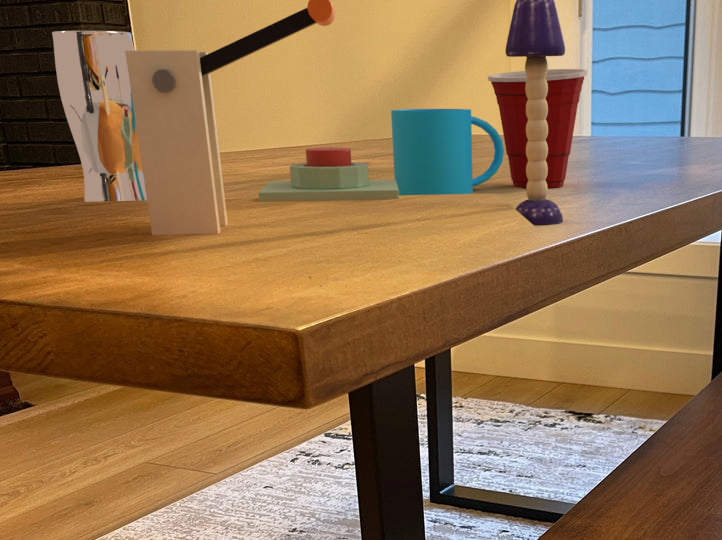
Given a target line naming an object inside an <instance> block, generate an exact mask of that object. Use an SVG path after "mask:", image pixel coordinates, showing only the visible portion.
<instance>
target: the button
mask: <svg viewBox="0 0 722 540" xmlns="http://www.w3.org/2000/svg"><path fill="white" fill-rule="evenodd" d="M305 159H306V160H305V161H306V163H307V166H309V167H338V166H350V165H352V163H351V162H352V151H351V148H350V147H337V146H336V147H332V146H331V147H330V146H329V147H310V148H309V147H308V148H306V149H305Z"/></svg>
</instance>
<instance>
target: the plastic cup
mask: <svg viewBox="0 0 722 540" xmlns="http://www.w3.org/2000/svg"><path fill="white" fill-rule="evenodd" d="M587 75H588V69H581V68H557V69H556V68H555V69H553V68H552V69H548V72H547V75H546V77H545V79H546V81H547V84H548V93H547V96H546V101H547V105H548V114H547V117H546V121H547V124H548V135H547V138H546V142H547V146H548V154H547V158H546V160H545V161H546V163H547V167H548V173H547V177H546V180H545V181H546V183H547V187H548V189H550V188H552V189H553V188H561V187H564V183H565V180H566V176H567V170H568V164H569V157H570V155H571V149H572V143H573V138H574V131H575V126H576V125H575V124H576V118H577V112H578V105H579V103H580V98H581V93H582V90H583V89H582V88H583V84H584V80H585V77H587ZM527 79H528V78H527V75H526V72H525V70H522V71H521V70H520V71H519V70H518V71H509V72H499V73H494V74H488V75H487V80H488V82H490V83H491V85H492V88H493V91H494V95H495V97H496V103H497V105H498V111H499V116H500V121H501V122H500V123H501V129H502V134H503V140H504V144H505V145H504V146H505V151H506V155H507V157H508V158H507V160H508V165H509V172H510V179H511V181H512V186H513V187H515V188H523V189H526V187H527V183H528V178H527V175H526V166H527V163H528V158H527V156H526V145H527V142H528V138H527V135H526V125H527V122H528V118H527V115H526V103H527V101H528V98H527V95H526V90H525V88H526V82H527Z"/></svg>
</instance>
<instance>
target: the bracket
mask: <svg viewBox="0 0 722 540" xmlns="http://www.w3.org/2000/svg"><path fill="white" fill-rule="evenodd" d="M125 52H126V59H127V66H128V73H129V80H130V87H131V94H132V100H133V107H134V114H135V121H136V128H137V135H138V142H139V149H140V155H141V162H142V169H143V176H144V183H145V190H146V197H147V200H146V205H147V210H148V217H149V224H150V230H151V235H152V236H173V235H174V236H175V235H177V236H178V235H180V236H181V235H214V234H215V235H216V234H220V233H221V227H227V226H228V224H229V223H228V213H227V204H226V196H225V188H224V180H223V169H222V163H221V154H220V153H221V152H220V145H219V137H218V136H219V135H218V129H217V128H218V127H217V120H216V119H217V118H216V110H215V103H214V93H213V83H212V75H211V73H210V74H207V75H205V76H203V77H202V73H201V65H200V58H201V57H203V56H205V55H207V54H209V52H207V51H199V50H197V49H180V50H179V49H168V50H167V49H166V50H164V49H162V50H161V49H160V50H159V49H155V50H154V49H153V50H152V49H151V50H150V49H149V50H148V49H147V50H146V49H145V50H143V49H142V50H141V49H140V50H139V49H138V50H137V49H134V50H126V51H125Z"/></svg>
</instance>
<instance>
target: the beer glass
mask: <svg viewBox="0 0 722 540" xmlns="http://www.w3.org/2000/svg"><path fill="white" fill-rule="evenodd" d="M51 34H52V42H53V53H54V64H55V70H56V79H57V80H56V81H57V85H58V90H59V96H60V100H61V103H62V107H63V110H64V114H65V117H66V120H67V123H68V127H69V129H70V132H71V135H72V138H73V140H74V143H75V147H76V150H77V153H78V156H79V159H80V163H81V167H82V173H83V184H84V185H83V186H84V187H83V196H84V197H83V202H84V203H86V202H87V203H88V202H89V203H91V202H92V203H93V202H95V203H96V202H138V201H139V202H141V201H146V202H147V197H146V190H145V183H144V176H143V169H142V162H141V155H140V149H139V142H138V135H137V128H136V121H135V114H134V107H133V100H132V94H131V87H130V80H129V73H128V66H127V59H126V52H125V51H126V50H135V47H134V43H133V37H132V32H129V31H117V30H116V31H115V30H59V31H57V30H56V31H52V32H51Z"/></svg>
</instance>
